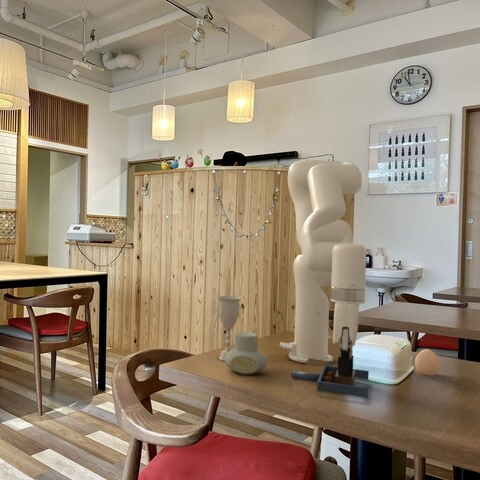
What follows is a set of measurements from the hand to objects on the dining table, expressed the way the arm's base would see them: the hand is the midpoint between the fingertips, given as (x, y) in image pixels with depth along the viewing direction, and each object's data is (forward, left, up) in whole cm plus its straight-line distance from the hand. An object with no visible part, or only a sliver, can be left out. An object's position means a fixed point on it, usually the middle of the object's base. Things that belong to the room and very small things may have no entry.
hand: (345, 372), depth 115 cm
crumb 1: (-3, +3, -2) cm, 5 cm away
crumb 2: (-4, -2, -2) cm, 5 cm away
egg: (+19, +22, -4) cm, 29 cm away
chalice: (-33, +15, -4) cm, 36 cm away
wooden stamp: (0, 0, -4) cm, 4 cm away
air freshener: (-25, +4, -4) cm, 26 cm away
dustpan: (-4, 0, -4) cm, 6 cm away
